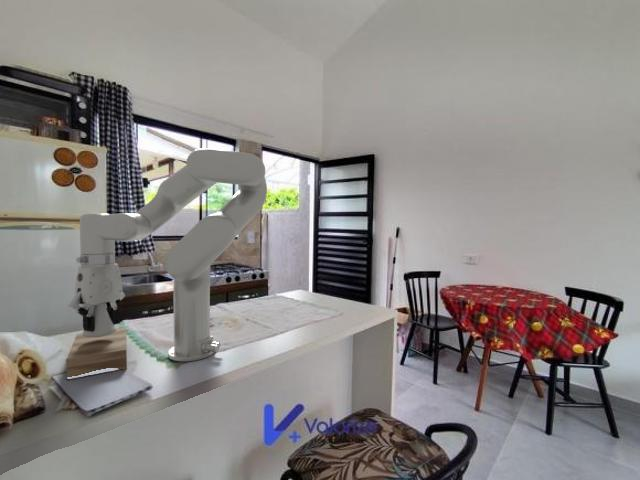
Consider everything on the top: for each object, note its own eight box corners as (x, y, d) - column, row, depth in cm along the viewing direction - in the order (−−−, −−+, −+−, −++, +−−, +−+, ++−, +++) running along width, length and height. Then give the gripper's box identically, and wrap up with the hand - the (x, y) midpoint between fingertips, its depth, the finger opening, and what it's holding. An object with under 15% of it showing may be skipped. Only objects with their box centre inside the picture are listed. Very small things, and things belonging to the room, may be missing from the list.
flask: (99, 339, 82) (98, 301, 81) (75, 337, 83) (74, 299, 83) (121, 330, 89) (121, 295, 88) (99, 328, 90) (99, 293, 90)
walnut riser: (77, 351, 92) (77, 333, 92) (126, 343, 98) (126, 327, 98) (66, 380, 75) (66, 359, 75) (126, 368, 81) (126, 349, 81)
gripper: (74, 264, 76) (76, 340, 77) (136, 257, 92) (137, 320, 93) (53, 262, 78) (55, 336, 79) (117, 256, 94) (118, 317, 95)
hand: (99, 326), depth 86 cm, fingers closed on flask, 4 cm apart
